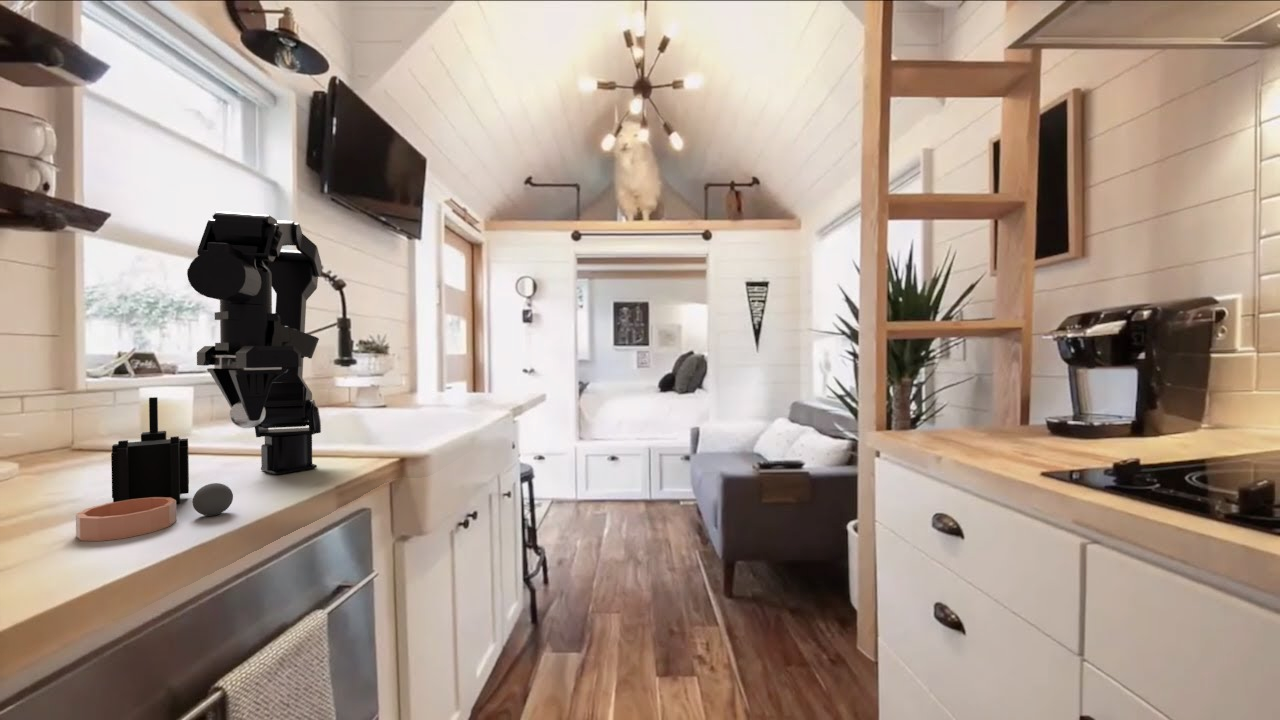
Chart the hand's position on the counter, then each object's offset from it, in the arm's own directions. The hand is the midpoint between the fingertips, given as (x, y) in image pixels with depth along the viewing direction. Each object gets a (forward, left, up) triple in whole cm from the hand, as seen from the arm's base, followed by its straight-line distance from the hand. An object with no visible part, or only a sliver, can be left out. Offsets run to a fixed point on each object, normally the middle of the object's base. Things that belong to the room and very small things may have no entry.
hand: (248, 419), depth 72 cm
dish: (+12, +1, -11) cm, 17 cm away
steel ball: (0, 0, +1) cm, 1 cm away
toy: (+9, -6, -4) cm, 12 cm away
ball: (+5, +3, -10) cm, 11 cm away
